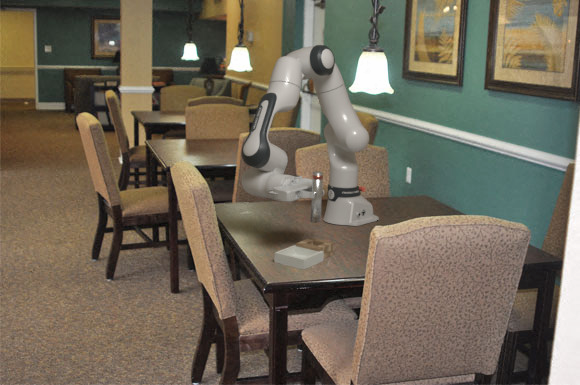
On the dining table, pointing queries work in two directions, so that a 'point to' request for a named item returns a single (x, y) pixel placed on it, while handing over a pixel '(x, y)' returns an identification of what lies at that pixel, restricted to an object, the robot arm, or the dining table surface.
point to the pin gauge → (316, 202)
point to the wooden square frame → (318, 246)
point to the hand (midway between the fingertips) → (319, 194)
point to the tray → (298, 257)
